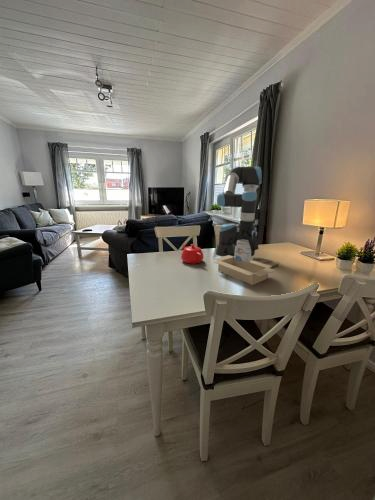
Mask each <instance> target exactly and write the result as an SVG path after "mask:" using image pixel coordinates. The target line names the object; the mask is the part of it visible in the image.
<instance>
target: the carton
mask: <svg viewBox="0 0 375 500" xmlns="http://www.w3.org/2000/svg"><path fill="white" fill-rule="evenodd" d="M235 257H236V256H230V255H227V256H219V257H216V258H214V259H213V260H214V261H213V262H214V263H215V264H217V265H218V267H217V270H218V272H220V271H221V272H220V273H222V272H223V274H225V275H227V276H230V277H232V278H234V279H236V280H239V281H240V282H241V281H242V282H244V283H246V284H249V285H251V286H253V285H256V284H258V283H260V282H262V281H265V280H267V279H268V275H269V274H271V273H273V272H275V269H273V268H271V267H272V266H269V265H266V264H263V263H260V262H257V261H254V259H253V260H252V261H250V262H244V261H238V260H235ZM270 268H271V269H270Z"/></svg>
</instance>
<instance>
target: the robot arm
mask: <svg viewBox="0 0 375 500" xmlns="http://www.w3.org/2000/svg"><path fill="white" fill-rule="evenodd" d="M262 174H263V173H262V168H261V167H260V166H254V165H253V166H236V167H233V168H231V170H229V171H228V172H227V173H226V175H225V178H224V180H225V183H224V187H223V188H222V189H223V190H222V193H218V194H217V197H216V205H217V206H218V207H223V208H224V207H228V208H229V207H231V208H241V209H240V220H239V223H238V225H237V224H235V223H224V224H223V223H222V224H221V225H220V226H219V231H218V232H219V233H218V244H217V247H216V249H215V254H216V255H218V256H219V257H223V256H227V255H230V256H233V257H234V256H236V246H237V240H240V239H243V240H248V241H249V244H250V247H251V250H250V253H249V261H252V260H253V261H254V259H253V258H254V256H255V254H256V251H257V250H259V239H258V231H257V227H256V226H255V225H256V224H255V217H256V216H255V215H256V205H257V199H258V192H257V189H258V188H259V187H260V185H261V184H262V182H263V181H262V176H263V175H262ZM237 184H241V185H242V186H241V187H242V188H243V192H242V193H241V194H240V193H236V188H237Z"/></svg>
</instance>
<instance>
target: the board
mask: <svg viewBox="0 0 375 500" xmlns="http://www.w3.org/2000/svg"><path fill="white" fill-rule="evenodd" d="M253 261H257V262H260V263H263V264H266V265H269V266H272V267H271V268H270V269H273V268H275V267H278V266H279V263H277V262H273V261H269V260H266V259H264V258H257V259H253Z"/></svg>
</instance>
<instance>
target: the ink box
mask: <svg viewBox="0 0 375 500" xmlns="http://www.w3.org/2000/svg"><path fill="white" fill-rule="evenodd" d="M250 250H251V247H250V244H249V241H248V240H243V239H240V240H237V246H236V257H235V260H238V261H244V262H250V261H249V253H250Z"/></svg>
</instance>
